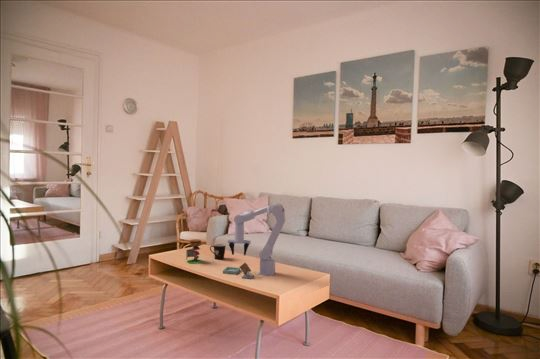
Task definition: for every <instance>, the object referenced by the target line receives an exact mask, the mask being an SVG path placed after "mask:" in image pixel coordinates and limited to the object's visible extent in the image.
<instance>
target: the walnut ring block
mask: <svg viewBox="0 0 540 359" xmlns="http://www.w3.org/2000/svg"><path fill="white" fill-rule="evenodd" d="M239 268H240V271H242V273H243V275H244V274H245V275H246V274H247V271H249V273H250V272H251V271H252V269H250V267H249V265H248V264H247V263H246V262H244V263H242V264H241V265H240V266H239Z"/></svg>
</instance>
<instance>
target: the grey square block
mask: <svg viewBox="0 0 540 359" xmlns="http://www.w3.org/2000/svg"><path fill="white" fill-rule="evenodd" d="M254 277H255V275H254V274H250V272H249V271H247V274H246V275H245V274H244V273H243V275H242V276H241V279H244V280H245V279H246V280H253V278H254Z"/></svg>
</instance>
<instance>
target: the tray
mask: <svg viewBox="0 0 540 359" xmlns="http://www.w3.org/2000/svg"><path fill="white" fill-rule="evenodd" d="M240 271H241V268H240V267H233V266H226V267H225V268H224V269H223V270H222V274H225V275H226V274H228V275H237V274H239V272H240Z"/></svg>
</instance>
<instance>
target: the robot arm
mask: <svg viewBox="0 0 540 359" xmlns="http://www.w3.org/2000/svg"><path fill="white" fill-rule="evenodd" d="M285 212H286V211H285V208H284V206H283V204H282V203H281V204H280V203H276V204H271V205H267V206H264V207H261V208H259V209H257V210H253V209H248V210H247V211H245V212H240V213H239V214H237V215H235V216H234V217H233V222H234V239H227V244H228V247H229V248H230V251H231V255H232V256H233V255H234V254H235V244H242V245H243V256H246V255H247V251H248V248H249V246H250V245H251V243H252V241H251V240H248V239H247V240H246V239H245V236H244V235H245V222H248V221H252V220H254V219H255V218H256V217H257V216H260V215H263V214H265V213H268V214H272V216H274V218H275V220H276V222H275V224H274V226H273V228H272V231H271V232H270V235H269V237H268V239H267V242H265V245H264V247H263V248H262V250H260V252H259V254H258V255H259V272H258V273H257V275H262V276H274V274H275V273H276V260H275V259H273V258H272V255H273V249H274V246H275V245H276V242H277V239H278V238H279V235H280V233H281V231H282V229H283V226H284V224H285V223H286V214H285Z"/></svg>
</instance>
